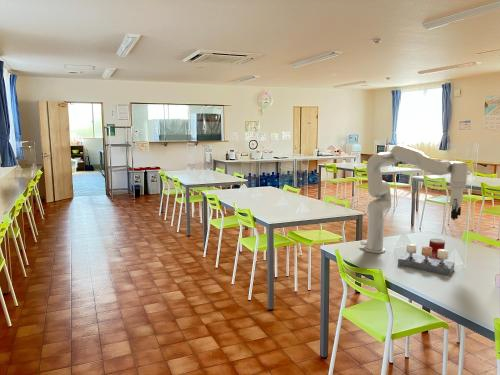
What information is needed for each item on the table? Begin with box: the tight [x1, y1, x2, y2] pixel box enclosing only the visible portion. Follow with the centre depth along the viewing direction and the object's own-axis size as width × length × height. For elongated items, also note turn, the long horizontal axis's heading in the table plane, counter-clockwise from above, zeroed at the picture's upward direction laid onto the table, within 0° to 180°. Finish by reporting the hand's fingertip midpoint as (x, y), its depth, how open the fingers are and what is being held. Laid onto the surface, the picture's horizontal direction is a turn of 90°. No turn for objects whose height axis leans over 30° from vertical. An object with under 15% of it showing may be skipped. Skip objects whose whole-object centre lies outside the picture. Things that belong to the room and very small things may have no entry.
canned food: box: [428, 238, 446, 260], centre depth 238 cm, size 8×8×11 cm
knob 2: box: [437, 248, 449, 264], centre depth 218 cm, size 5×5×8 cm
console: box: [397, 252, 455, 277], centre depth 224 cm, size 26×12×4 cm, turn 54°
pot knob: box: [421, 245, 432, 261], centre depth 223 cm, size 5×5×8 cm
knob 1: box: [406, 243, 418, 258], centre depth 227 cm, size 5×5×8 cm
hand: (455, 216), depth 220 cm, fingers open, 9 cm apart
